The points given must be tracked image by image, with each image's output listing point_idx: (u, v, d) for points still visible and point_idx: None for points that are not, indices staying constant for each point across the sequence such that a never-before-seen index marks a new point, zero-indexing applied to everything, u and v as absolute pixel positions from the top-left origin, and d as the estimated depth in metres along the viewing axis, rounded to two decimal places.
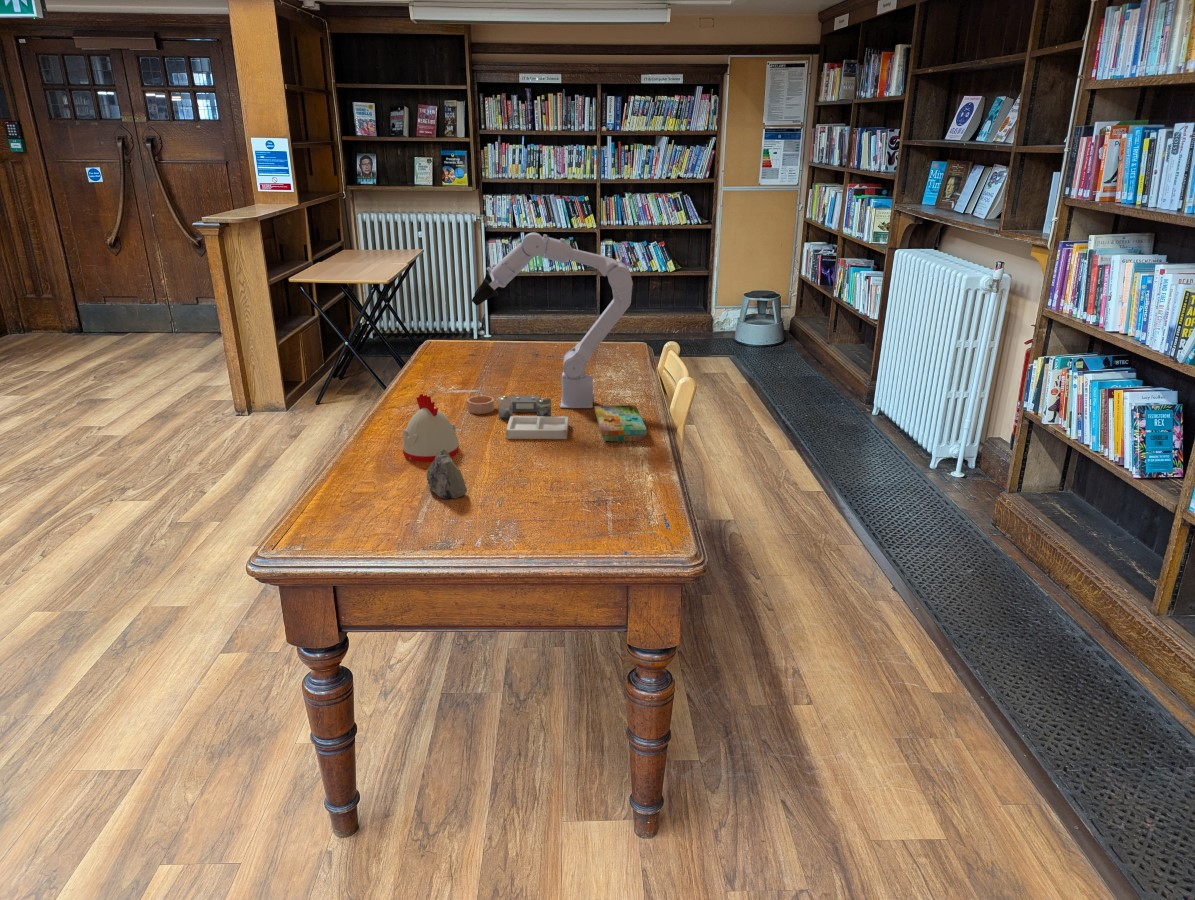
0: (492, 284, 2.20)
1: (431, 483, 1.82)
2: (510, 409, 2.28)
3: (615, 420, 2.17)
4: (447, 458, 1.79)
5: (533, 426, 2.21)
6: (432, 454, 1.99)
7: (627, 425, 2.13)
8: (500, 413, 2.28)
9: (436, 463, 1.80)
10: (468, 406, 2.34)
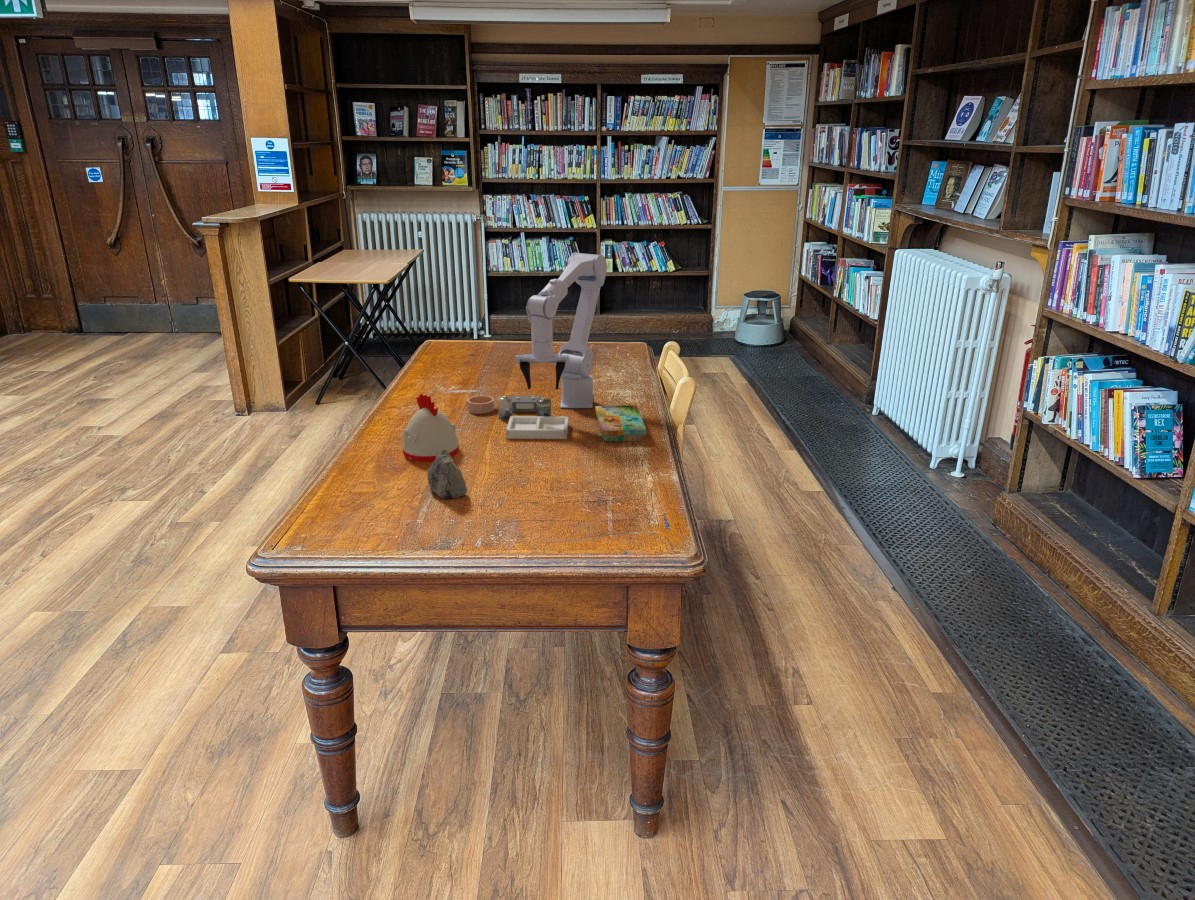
0: (569, 360, 2.22)
1: (431, 483, 1.82)
2: (510, 409, 2.28)
3: (615, 420, 2.17)
4: (447, 458, 1.79)
5: (533, 426, 2.21)
6: (432, 454, 1.99)
7: (627, 425, 2.13)
8: (500, 413, 2.28)
9: (436, 463, 1.80)
10: (468, 406, 2.34)
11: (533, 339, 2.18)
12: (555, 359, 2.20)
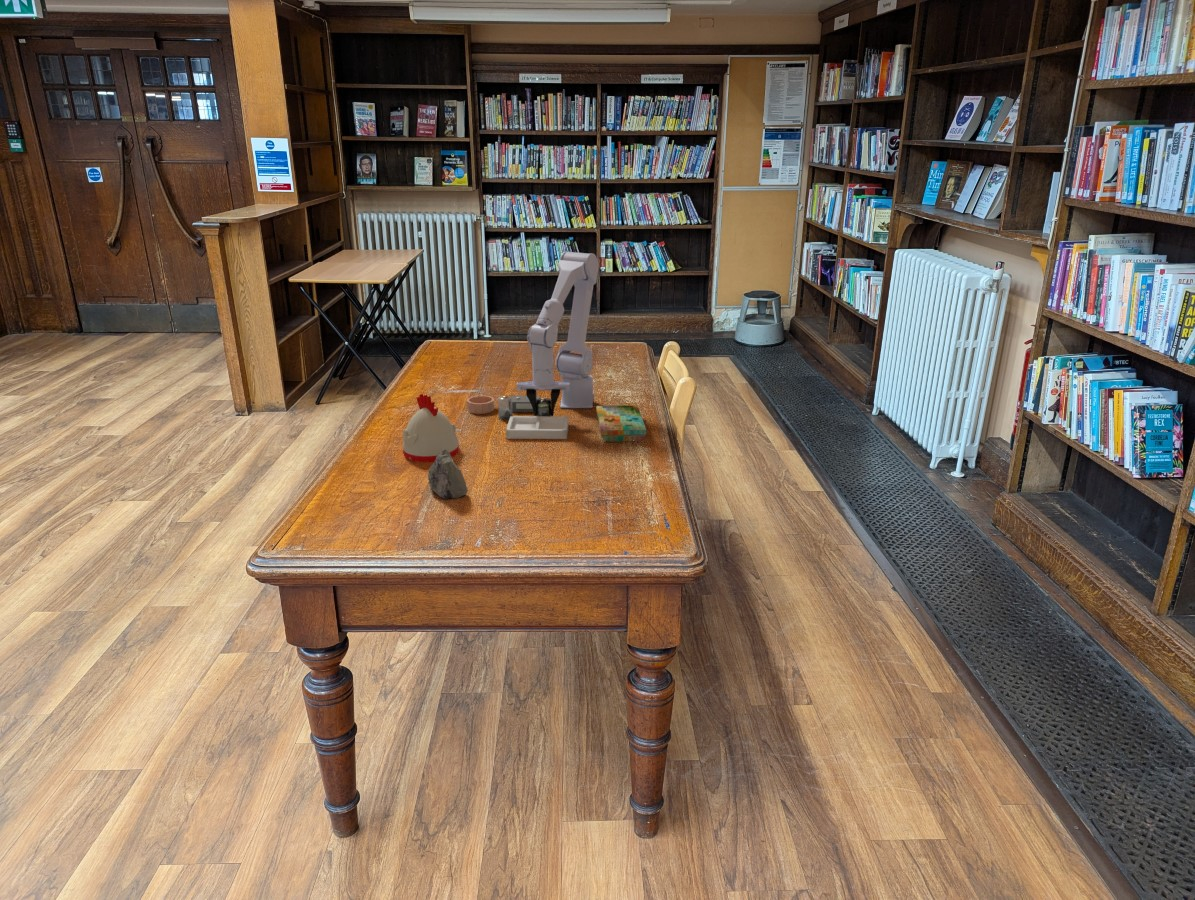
0: (569, 388, 2.24)
1: (432, 483, 1.82)
2: (510, 409, 2.28)
3: (615, 420, 2.17)
4: (448, 458, 1.79)
5: (533, 426, 2.21)
6: (432, 454, 1.99)
7: (627, 425, 2.13)
8: (500, 413, 2.28)
9: (437, 463, 1.80)
10: (468, 406, 2.34)
11: (534, 367, 2.21)
12: (556, 387, 2.23)
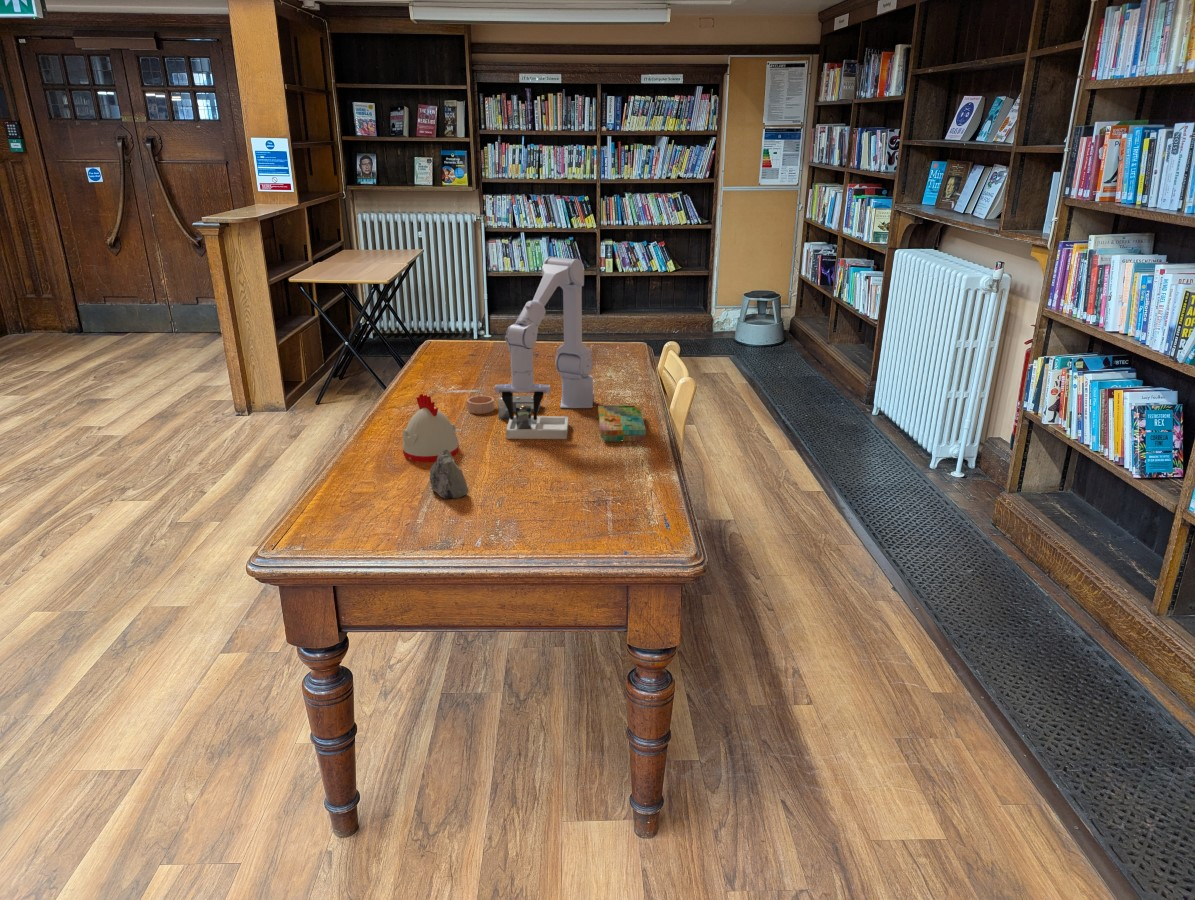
0: (549, 390, 2.15)
1: (433, 483, 1.82)
2: None
3: (615, 420, 2.17)
4: (449, 458, 1.79)
5: (533, 426, 2.21)
6: (432, 454, 1.99)
7: (627, 425, 2.13)
8: (500, 413, 2.28)
9: (438, 463, 1.80)
10: (468, 406, 2.34)
11: (513, 369, 2.12)
12: (535, 389, 2.14)
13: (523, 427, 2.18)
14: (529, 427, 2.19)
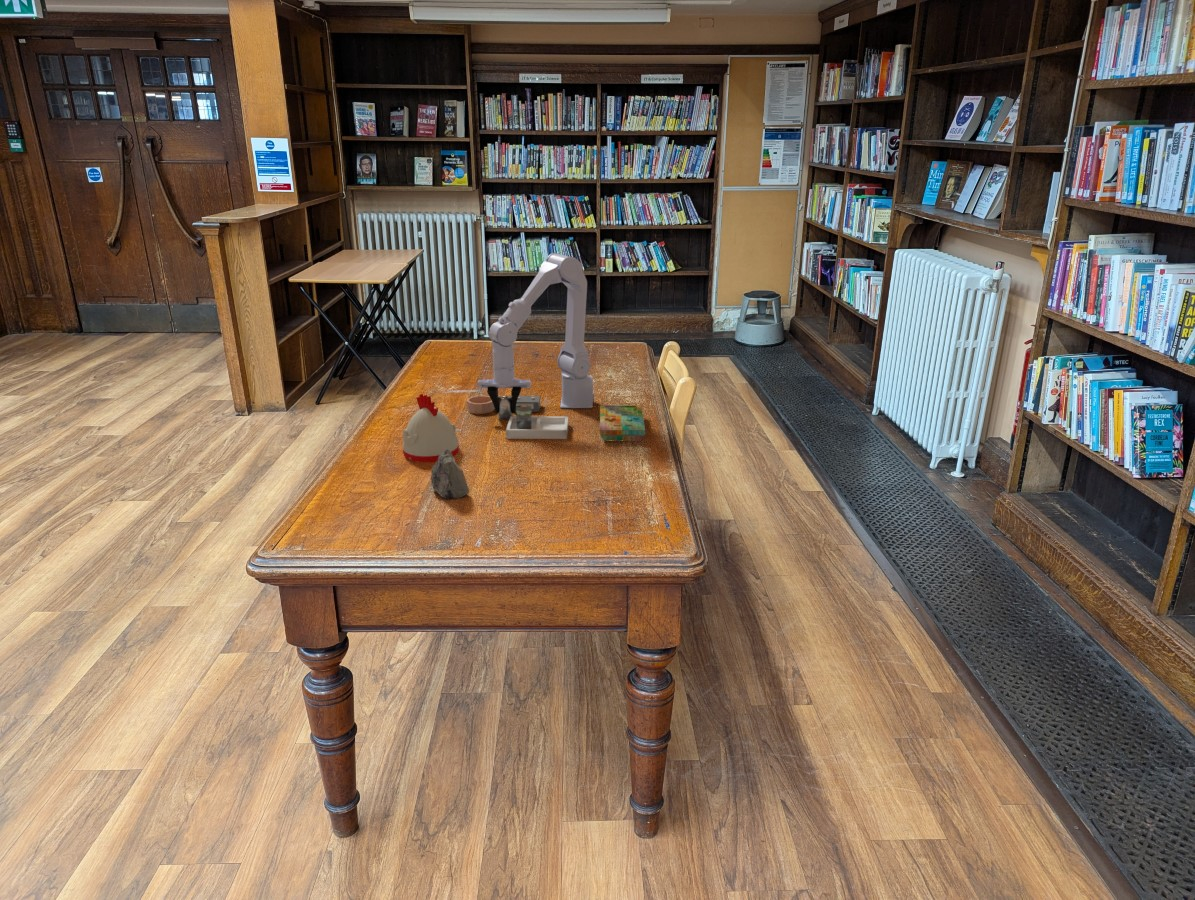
0: (530, 385, 2.26)
1: (434, 482, 1.82)
2: (510, 409, 2.28)
3: (615, 420, 2.17)
4: (449, 458, 1.79)
5: (533, 426, 2.21)
6: (432, 454, 1.99)
7: (626, 425, 2.13)
8: (500, 413, 2.28)
9: (439, 462, 1.80)
10: (468, 406, 2.34)
11: (493, 364, 2.24)
12: (516, 384, 2.25)
13: (523, 427, 2.18)
14: (529, 427, 2.19)
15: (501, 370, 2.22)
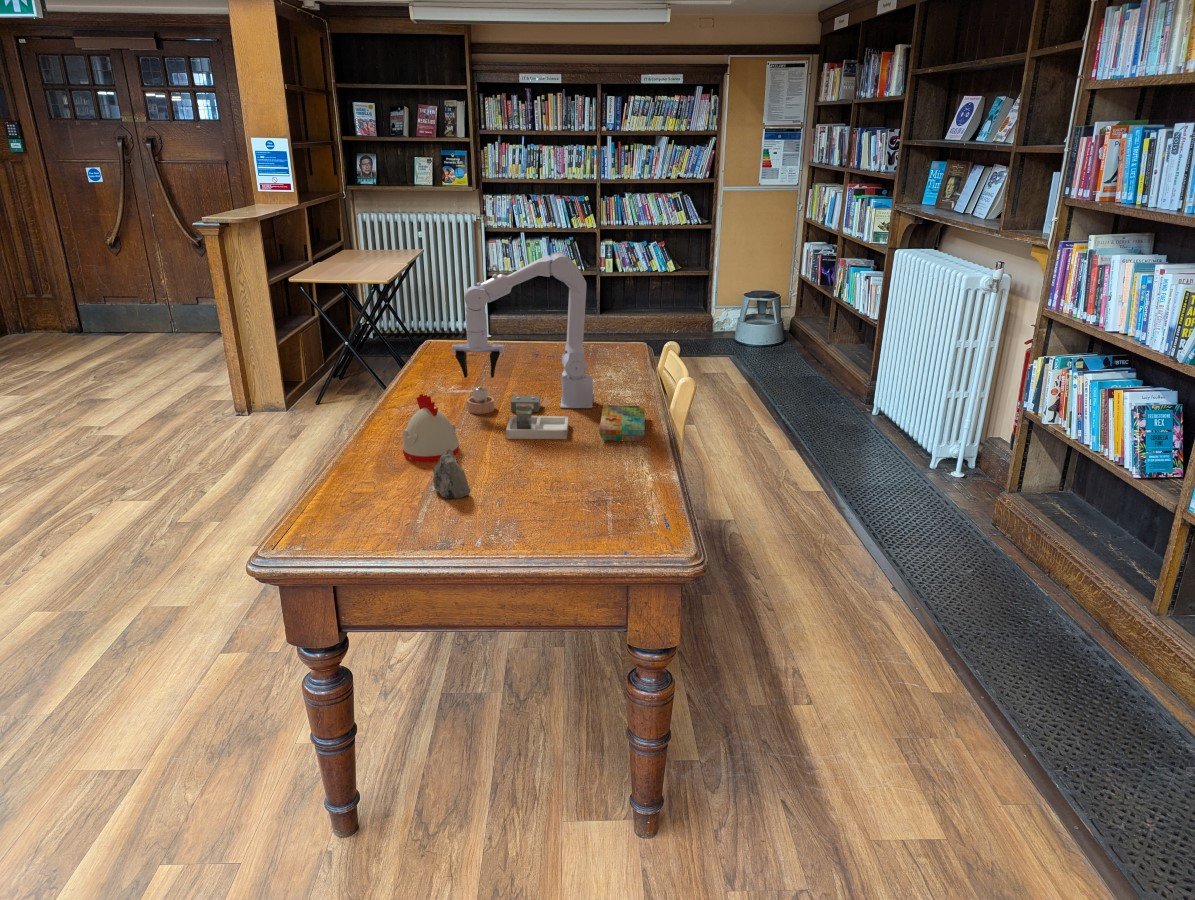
0: (503, 350, 2.30)
1: (435, 482, 1.82)
2: (485, 399, 2.34)
3: (616, 419, 2.18)
4: (451, 458, 1.79)
5: (533, 426, 2.21)
6: (432, 454, 1.99)
7: (626, 425, 2.13)
8: None
9: (440, 462, 1.80)
10: (468, 406, 2.34)
11: None
12: (489, 348, 2.28)
13: (525, 426, 2.18)
14: (530, 426, 2.19)
15: (474, 334, 2.26)
